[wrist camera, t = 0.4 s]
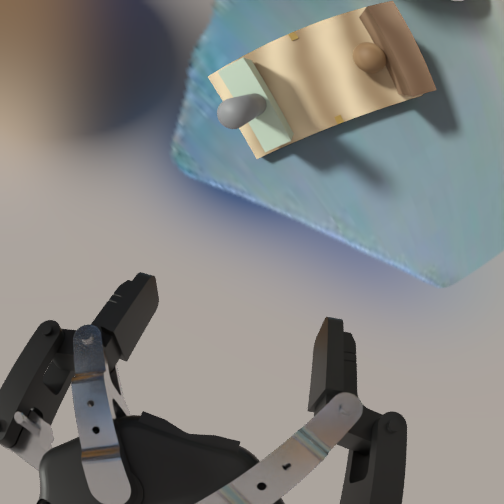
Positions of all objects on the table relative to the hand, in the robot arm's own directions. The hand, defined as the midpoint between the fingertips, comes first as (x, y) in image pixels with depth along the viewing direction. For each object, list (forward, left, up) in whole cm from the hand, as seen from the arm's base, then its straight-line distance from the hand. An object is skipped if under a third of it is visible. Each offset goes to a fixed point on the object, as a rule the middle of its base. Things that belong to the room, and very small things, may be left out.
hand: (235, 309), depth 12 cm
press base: (-8, -8, -26) cm, 28 cm away
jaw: (-1, -8, -24) cm, 25 cm away
